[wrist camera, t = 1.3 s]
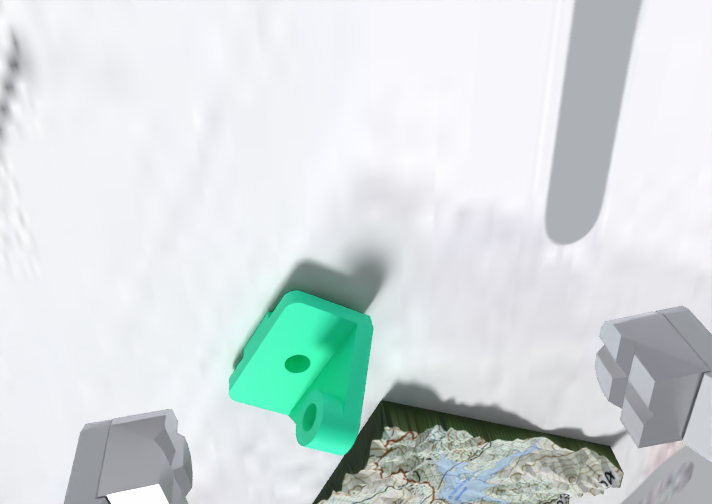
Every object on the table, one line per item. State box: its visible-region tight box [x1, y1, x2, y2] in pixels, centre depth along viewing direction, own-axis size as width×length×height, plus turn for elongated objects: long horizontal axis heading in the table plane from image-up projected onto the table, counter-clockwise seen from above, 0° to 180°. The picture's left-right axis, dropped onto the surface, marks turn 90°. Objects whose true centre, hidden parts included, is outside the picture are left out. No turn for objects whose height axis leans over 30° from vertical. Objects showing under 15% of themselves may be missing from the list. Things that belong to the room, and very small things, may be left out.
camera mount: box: [229, 290, 373, 455], centre depth 51 cm, size 12×8×10 cm, turn 149°
